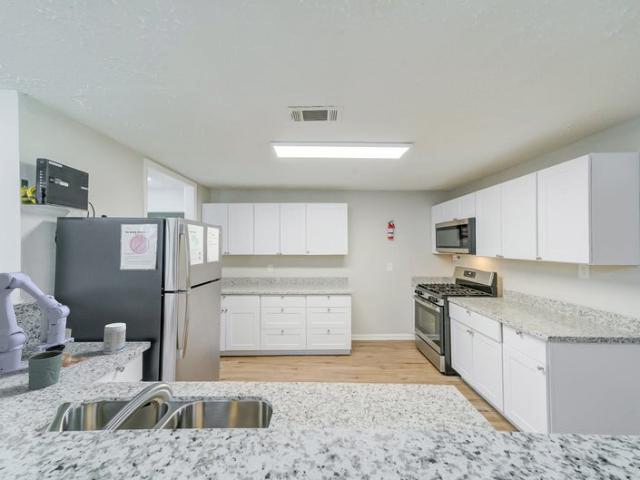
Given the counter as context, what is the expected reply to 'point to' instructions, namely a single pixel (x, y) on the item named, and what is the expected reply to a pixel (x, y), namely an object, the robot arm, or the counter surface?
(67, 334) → the grey marbled cylinder
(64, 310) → the robot arm
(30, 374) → the green plant pot
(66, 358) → the birch block
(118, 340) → the supplement tub
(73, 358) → the board
